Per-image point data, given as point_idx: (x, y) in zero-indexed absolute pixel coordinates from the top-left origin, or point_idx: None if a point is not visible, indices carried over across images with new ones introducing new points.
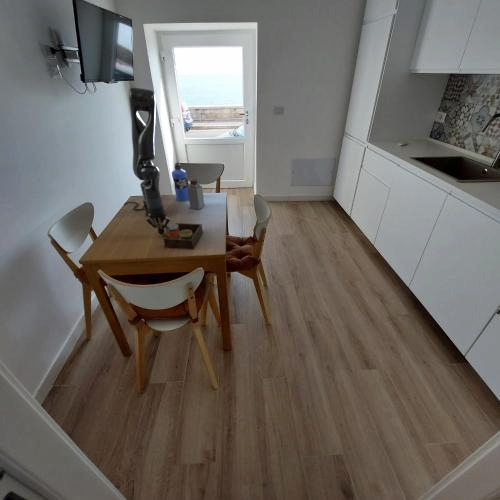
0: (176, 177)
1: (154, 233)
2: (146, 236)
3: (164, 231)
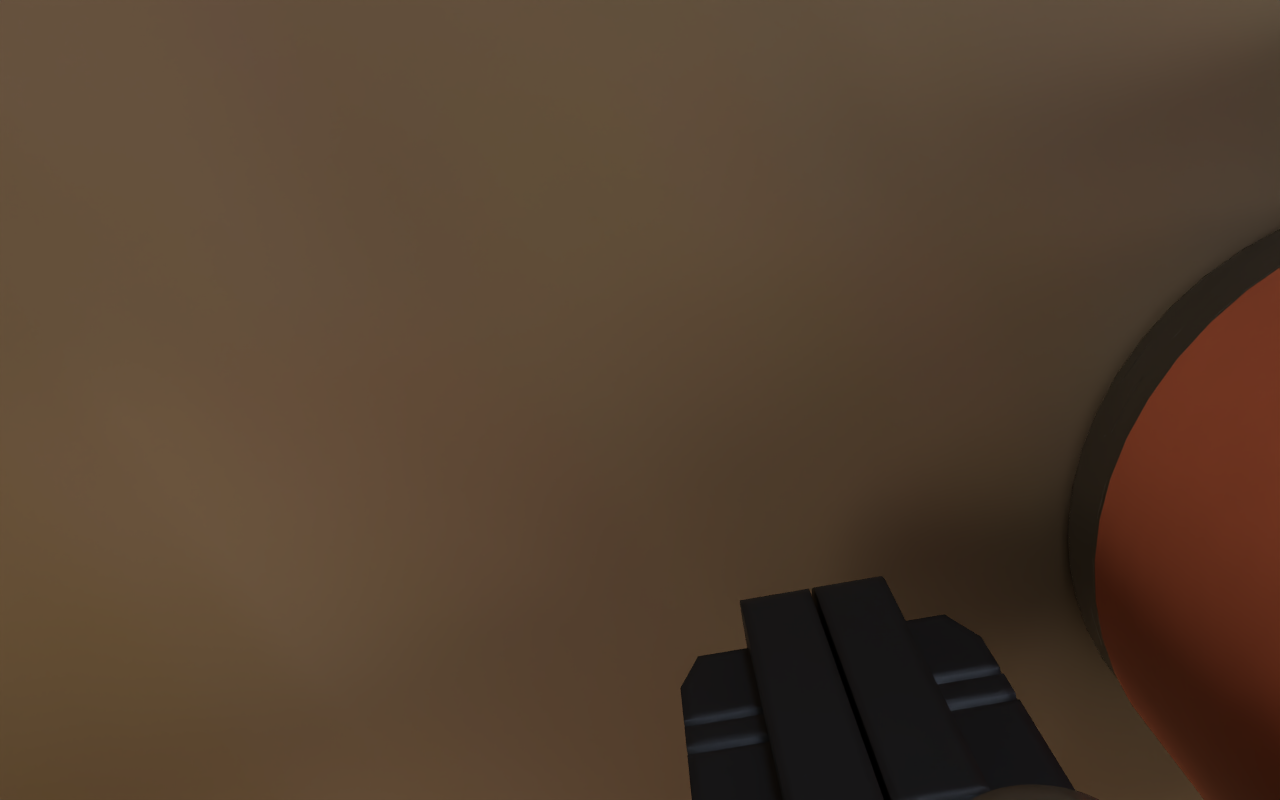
0: None
1: (286, 493)
2: (86, 791)
3: (984, 645)
